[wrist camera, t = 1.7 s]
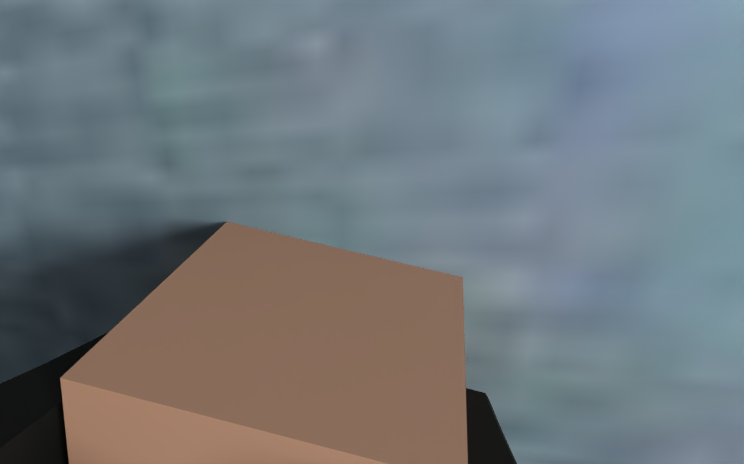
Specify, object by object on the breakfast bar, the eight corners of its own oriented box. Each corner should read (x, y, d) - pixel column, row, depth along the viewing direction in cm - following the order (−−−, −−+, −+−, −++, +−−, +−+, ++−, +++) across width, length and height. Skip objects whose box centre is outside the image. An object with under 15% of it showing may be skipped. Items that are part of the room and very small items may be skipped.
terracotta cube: (410, 449, 12) (384, 700, 8) (215, 398, 13) (84, 614, 8) (462, 275, 10) (468, 484, 6) (228, 220, 11) (59, 378, 6)
